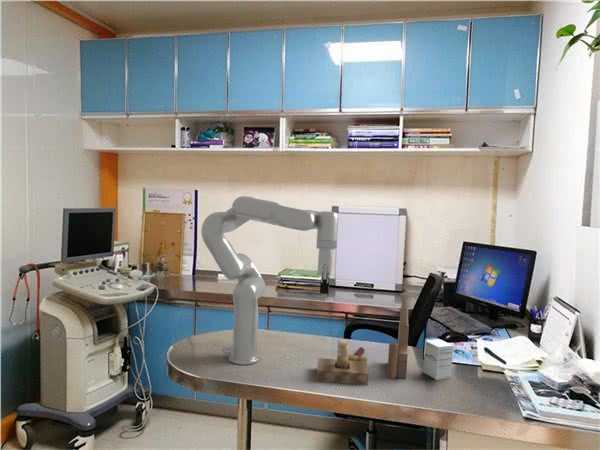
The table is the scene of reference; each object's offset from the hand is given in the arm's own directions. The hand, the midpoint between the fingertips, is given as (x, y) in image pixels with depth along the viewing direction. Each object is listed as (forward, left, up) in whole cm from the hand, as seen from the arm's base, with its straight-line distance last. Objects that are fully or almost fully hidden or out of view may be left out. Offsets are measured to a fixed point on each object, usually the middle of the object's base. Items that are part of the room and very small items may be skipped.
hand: (324, 293), depth 156 cm
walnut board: (+8, -6, -29) cm, 31 cm away
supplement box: (+44, +2, -29) cm, 53 cm away
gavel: (+15, +14, -30) cm, 36 cm away
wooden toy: (+29, +3, -29) cm, 41 cm away
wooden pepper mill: (+8, -6, -28) cm, 30 cm away
